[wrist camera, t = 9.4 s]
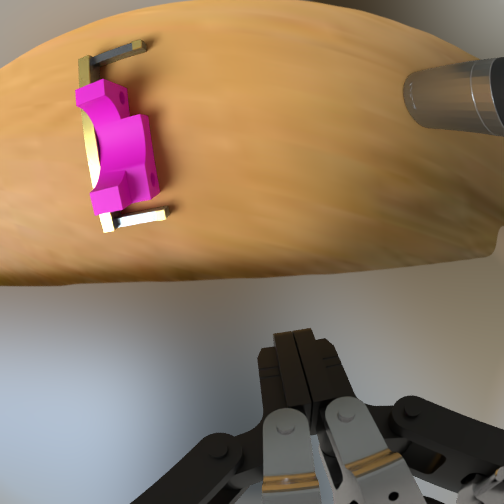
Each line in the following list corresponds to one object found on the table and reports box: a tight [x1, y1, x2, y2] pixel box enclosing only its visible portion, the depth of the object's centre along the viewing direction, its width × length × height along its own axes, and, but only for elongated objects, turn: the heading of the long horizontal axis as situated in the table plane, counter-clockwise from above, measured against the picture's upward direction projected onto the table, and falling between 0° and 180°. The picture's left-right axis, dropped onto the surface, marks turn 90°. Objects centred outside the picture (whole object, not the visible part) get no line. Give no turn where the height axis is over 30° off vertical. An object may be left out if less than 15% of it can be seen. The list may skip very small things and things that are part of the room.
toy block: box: [75, 79, 160, 216], centre depth 28 cm, size 15×6×8 cm, turn 7°
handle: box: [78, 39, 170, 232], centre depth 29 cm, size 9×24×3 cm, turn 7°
